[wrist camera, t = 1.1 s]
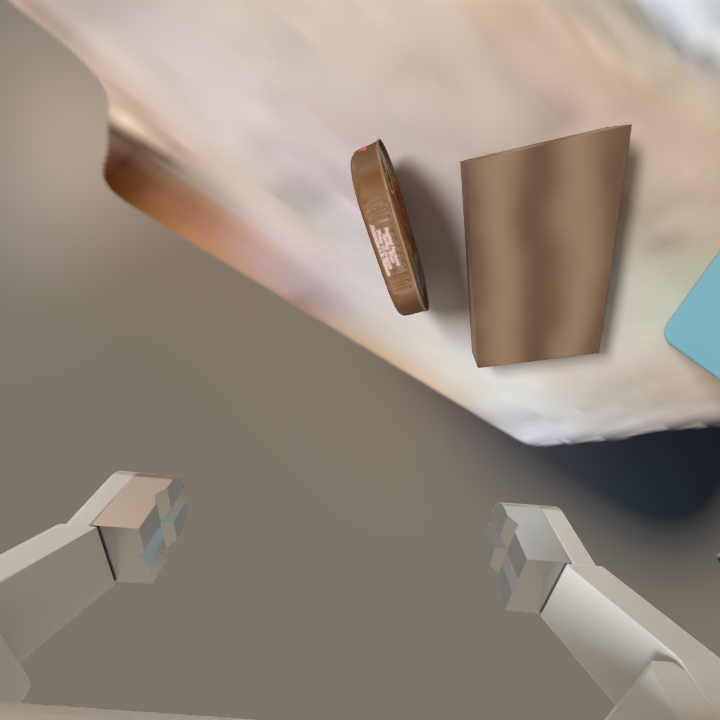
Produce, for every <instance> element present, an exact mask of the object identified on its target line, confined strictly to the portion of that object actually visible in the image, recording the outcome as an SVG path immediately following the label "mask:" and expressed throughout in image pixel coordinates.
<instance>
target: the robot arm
mask: <svg viewBox="0 0 720 720" xmlns="http://www.w3.org/2000/svg"><path fill="white" fill-rule="evenodd" d="M183 488H184V487H183V482H182V478H180V477H177V476H167V475H158V474H148V473H135V472H127V471H118V472H116V473H114V474H112V475H111V476H110V478H109V479H108V480H107V481H106V482H105V483H104V484H103V485H102V486H101V487H100V488H99V489H98V490H97V491H96V493H95V494H94V495H93V496H92V497H91V498H90V499H89V500H88V501H87V502H86V503H85V504H84V505H83V506H82V508H81V509H80V510H79V511H78V512H77V513H76V514H75V515H74V516H73V517H72V518H71V519H70V520H69V522H68V523H67V524H58V525H56V526H54V527H52V528H51V529H49V530H47V531H45V532H43V533H41V534H39V535H37V536H35V537H33V538H31V539H29V540H28V541H26V542H24V543H22V544H20V545H18V546H16V547H14V548H12V549H10V550H8V551H6V552H4V553H3V554H1V555H0V720H250V719H236V718H222V717H208V716H193V715H178V714H165V713H164V714H163V713H150V712H136V711H121V710H107V709H92V708H78V707H63V706H49V705H34V704H20V703H21V701H22V700H23V698H24V697H25V695H26V693H27V692H28V691H29V689H30V681H29V679H28V677H27V675H26V674H25V672H24V671H23V669H22V667H21V666H20V664H19V663H20V662H21V661H22V660H23V659H25V658H26V657H27V656H28V655H30V654H31V653H32V652H33V651H34V650H36V649H37V648H38V647H39V646H40V645H42V644H43V643H44V642H45V641H46V640H48V639H49V638H50V637H51V636H53V635H54V634H55V633H56V632H57V631H59V630H60V629H61V628H62V627H63V626H64V625H66V624H67V623H68V622H69V621H71V620H72V619H73V618H74V617H76V616H77V615H78V614H79V613H80V612H82V611H83V610H84V609H85V608H86V607H88V606H89V605H90V604H91V603H92V602H94V601H95V600H96V599H97V598H98V597H100V596H101V595H102V594H103V593H105V592H106V591H107V590H108V589H109V588H111V587H112V586H113V585H114V584H115V582H135V583H153V582H154V580H155V578H156V576H157V575H158V573H159V571H160V569H161V567H162V566H163V564H164V562H165V560H166V558H167V557H168V556H167V550H166V547H167V546H169V545H170V544H172V543H173V542H175V541H176V540H177V539H178V537H179V535H180V533H181V531H182V530H183V527H184V523H185V520H186V515H187V504H186V501H185V499H184V498H183V497H182V496H181V495H180V493H181V492H182V490H183ZM492 514H493V517H494V519H495V520H494V521H493V522H492V523H490V524H489V525H488V526H487V530H486V533H485V548H486V554H487V558H488V561H489V564H490V565H491V566H492V567H493V568H494V569H495V570H496V571H497V572H498V573H499V574H498V576H497V579H496V585H497V588H498V591H499V594H500V597H501V600H502V602H503V605H504V609H505V610H508V611H518V612H528V613H536V614H541V617H542V619H543V620H544V621H545V622H546V623H547V624H548V626H549V627H550V628H551V629H552V630H553V631H554V633H555V634H556V635H557V636H558V638H559V639H560V640H561V641H562V642H563V643H564V645H565V646H566V647H567V648H568V649H569V651H570V652H571V653H572V654H573V655H574V656H575V658H576V659H577V660H578V661H579V662H580V664H581V665H582V666H583V667H584V668H585V670H586V671H587V672H588V673H589V674H590V675H591V677H592V678H593V679H594V680H595V681H596V683H597V684H598V685H599V686H600V687H601V688H602V690H603V691H604V692H605V693H606V695H607V696H608V697H609V698H610V699H611V700H612V701H613V703H614V704H615V705H616V706H615V707H614V709H613V710H612V711H611V712H610V714H609V715H608V716H607V717H606V719H605V720H720V658H719V657H717V656H716V655H715V654H713V653H712V652H711V651H710V650H708V649H707V648H706V647H704V646H703V645H702V644H700V643H699V642H698V641H697V640H695V639H694V638H693V637H692V636H691V635H689V634H688V633H686V632H685V631H684V630H683V629H682V628H680V627H679V626H678V625H676V624H675V623H674V622H672V621H671V620H670V619H669V618H667V617H666V616H665V615H664V614H662V613H661V612H659V610H657V609H656V608H654V607H653V606H652V605H651V604H649V603H648V602H647V601H646V600H644V599H643V598H642V597H641V596H639V595H638V594H636V593H635V592H634V591H633V590H631V589H630V588H629V587H628V586H627V585H625V584H624V583H623V582H621V581H620V580H619V579H618V578H616V577H615V576H614V575H612V574H611V573H610V572H609V571H607V570H606V569H605V568H603V567H601V566H596V565H595V564H594V562H593V560H592V559H591V557H590V555H589V554H588V552H587V551H586V549H585V548H584V546H583V544H582V543H581V541H580V540H579V538H578V536H577V535H576V533H575V532H574V530H573V528H572V527H571V525H570V524H569V522H568V521H567V519H566V517H565V516H564V514H563V512H562V511H561V510H560V509H559V508H558V507H554V506H540V505H536V506H535V505H527V504H514V503H497V504H496V505H495V506H494V509H493V512H492Z"/></svg>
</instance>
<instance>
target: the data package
mask: <svg viewBox="0 0 720 720" xmlns="http://www.w3.org/2000/svg"><path fill="white" fill-rule="evenodd" d="M665 339H666V340H667V342H668V343H670V344H671V345H672V346H674V347H675V348H676V349H678V350H679V351H681V352H682V353H683V354H685V355H686V356H688V357H689V358H690V359H692V360H693V361H694V362H696V363H697V364H699V365H700V366H701V367H703V368H704V369H706V370H707V371H708V372H710V373H711V374H712V375H714V376H715V377H717V378H718V379H719V380H720V252H719V253H718V255H717V256H716V258H715V259H714V260H713V262H712V263H711V264H710V266H709V267H708V269H707V270H706V271H705V273H704V274H703V275H702V277H701V278H700V280H699V281H698V282H697V284H696V285H695V286H694V288H693V289H692V291H691V292H690V293H689V295H688V296H687V297H686V299H685V300H684V302H683V303H682V304H681V306H680V307H679V309H678V310H677V311H676V313H675V314H674V315H673V317H672V318H671V320H670V321H669V322H668V324H667V326H666V328H665Z"/></svg>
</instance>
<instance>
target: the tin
mask: <svg viewBox="0 0 720 720" xmlns="http://www.w3.org/2000/svg"><path fill="white" fill-rule="evenodd" d="M351 174H352V180H353V185H354V189H355V193H356V197H357V201H358V204H359V207H360V210H361V214H362V217H363V219H364V222H365V225H366V228H367V231H368V235H369V237H370V240H371V243H372V246H373V249H374V252H375V255H376V258H377V261H378V264H379V266H380V269H381V272H382V275H383V278H384V280H385V283H386V286H387V289H388V292H389V294H390V297H391V299H392V301H393V304H394V306H395V308H396V309H397V311H398V312H399V313H400V314H401V315H410V314H414V313H418V312H421V311H428V309H429V303H428V296H427V290H426V284H425V278H424V274H423V270H422V266H421V263H420V259H419V255H418V252H417V248H416V245H415V241H414V238H413V234H412V231H411V227H410V224H409V220H408V216H407V213H406V209H405V206H404V202H403V199H402V195H401V192H400V188H399V185H398V181H397V178H396V175H395V172H394V169H393V166H392V163H391V160H390V158H389V155H388V153H387V150H386V148H385V146H384V144H383V143H382V141H381V140H380V139H378V140H377V141H376V142H375V143H372V144H370V145H368V146H366V147H363V148H361V149H359V150H357V151H356V152H355V153H354V154H353V156H352V159H351Z"/></svg>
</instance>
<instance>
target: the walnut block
mask: <svg viewBox="0 0 720 720" xmlns="http://www.w3.org/2000/svg"><path fill="white" fill-rule="evenodd" d="M631 126H632V125H623V126H613V127H606V128H602V129H598V130H593V131H589V132H585V133H580V134H576V135H572V136H567V137H563V138H559V139H555V140H550V141H546V142H542V143H537V144H533V145H529V146H524V147H520V148H516V149H511V150H507V151H503V152H499V153H494V154H490V155H486V156H481V157H477V158H473V159H468V160H464V161H461V178H462V194H463V211H464V227H465V243H466V260H467V276H468V292H469V309H470V325H471V341H472V353H473V356H474V358H475V361H476V364H477V367H478V368H481V367H489V366H497V365H505V364H513V363H521V362H529V361H537V360H546V359H554V358H562V357H570V356H578V355H586V354H594V353H599V348H600V341H601V334H602V327H603V320H604V313H605V306H606V299H607V292H608V285H609V279H610V272H611V265H612V258H613V251H614V244H615V237H616V230H617V223H618V216H619V209H620V202H621V196H622V189H623V182H624V175H625V168H626V161H627V154H628V147H629V140H630V133H631Z"/></svg>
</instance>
